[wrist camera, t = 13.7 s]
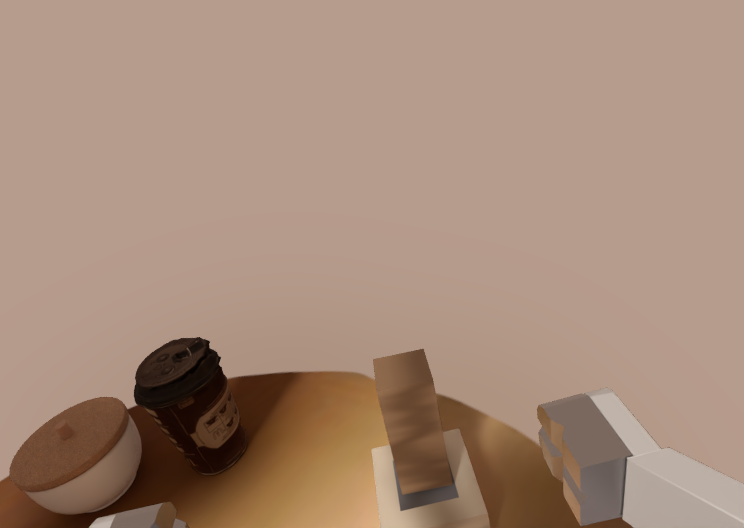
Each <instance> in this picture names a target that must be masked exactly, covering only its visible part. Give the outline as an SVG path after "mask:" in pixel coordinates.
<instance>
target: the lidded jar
mask: <svg viewBox="0 0 744 528" xmlns="http://www.w3.org/2000/svg"><path fill="white" fill-rule="evenodd" d="M141 454H142V446H141V438H140V435H139V432H138V429H137V427H136V425H135V423H134V421H133V419H132V418H131V416H130V415H129V413H128V410H127V408H126V406H125V405H124V404H123V402H122V401H120V400H119V399H116V398H113V397H100V398H95V399H91V400H87V401H84V402H82V403H80V404H77V405H75V406H73V407H70V408H69V409H67V410H65V411H63V412H61V413H60V414H59V415H57V416H55V417H53V418H52V419H51V420H49V421H48V422H46V423H45V424H44V425H43V426H41V427H40V428H39V429H38V430H37V431H35V433H33V434H32V435H31V436H30V437H29V438H28V440H26V441H25V442H24V444H23V445H22V446H21V448H20V449H19V450H18V452H17V453H16V455H15V456H14V458H13V461H12V463H11V467H10V479H11V481H12V482H13V483H14V484H15V485H16V486H17V487H18V488H19V489H21V490H23V491H24V492H25V493H26V494H27V495H28V496H29V497H30V498H31V499H32V500H33V501H34V502H36V503H37V504H39V505H40V506H42V507H44V508H46V509H48V510H50V511H52V512H56V513H60V514H69V515H72V514H81V513H91V512H96V511H99V510H102V509H104V508H106V507H108V506H110V505H111V504H113V503H114V502H115V501H117V500H118V499H119V498H120V497H121V496H122V495H124V493H125V492H126V491H127V490H128V489H129V488H130V486H131V485H132V483H133V481H134V479H135V477H136V473H137V469H138V466H139V464H140V460H141Z"/></svg>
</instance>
